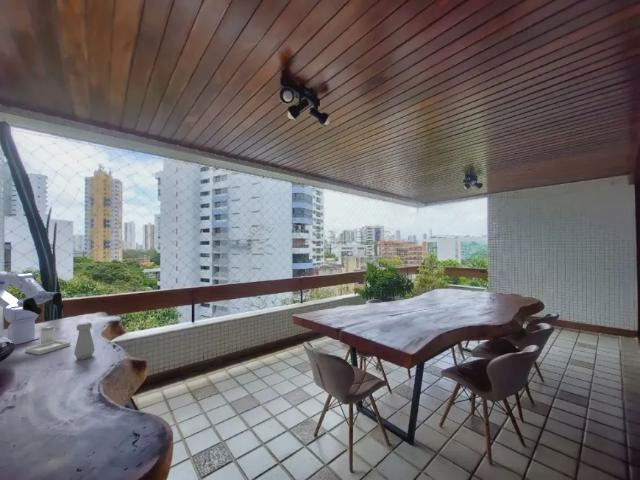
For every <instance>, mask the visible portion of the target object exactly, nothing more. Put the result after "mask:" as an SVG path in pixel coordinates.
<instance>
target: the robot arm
mask: <svg viewBox="0 0 640 480" xmlns="http://www.w3.org/2000/svg"><path fill="white" fill-rule="evenodd" d="M9 285H10V286H12V288H13V289H17V290H20V291H21V292H22V293H23V294H24V295H25V296H26V297H24V298H21V299H18V298H16V296H13V295H12V294H11V293H9V292H7V291H6V290H8V289H9ZM63 296H64V294H63V293H62V292H61V291H60V292H50V291H47V290H46V289H44V288H43V287H42V286H41V285H40V283H39V282H38V281H37V277H36V274H35V273H33V272H30V273H24V272H21V271H20V272H18V271H17V270H11V271H10V272H8V271H3V270H2V271H0V307H1V308H3V313H2V317H4V319H5V321H6V322H7V323H9V324H8V327H7V340H8V339H10V340H11V341H12V342H13V343H14V344H13V345H19V344H24V343H27V342H31V341H35V340H36V341H37V340H40V337H38V336H36V328H35V327H36V326H35V325H36V323H35V322H36V320H37V318H39V316H40V315H41V314H42V309H41V307H40V306H39V305H41V304H44V303H46V302H48V301H51V300H52V302H51V304H52V305H54V306H56V307H57V308H58V309H59V310H63V308H64V307H65V305H64V303H63V300H62V299H63Z"/></svg>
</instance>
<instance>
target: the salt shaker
mask: <svg viewBox="0 0 640 480" xmlns="http://www.w3.org/2000/svg"><path fill="white" fill-rule="evenodd" d="M92 327H93V325H92V323H91V322H89V321H87V322H86V321H84V322H80V323H78V324H77V325H76V330H77V331H78V336H77V339H76V340H77V341H76V345H75V349H74V353H73V354H74V356H75V357H76V359H77V360H79V361H82V360H86V359H87V360H88V359H90V358H92V357H93V355H94V353H95V345H94V341H93V337H92V333H91V329H92Z"/></svg>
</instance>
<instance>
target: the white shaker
mask: <svg viewBox="0 0 640 480" xmlns="http://www.w3.org/2000/svg"><path fill="white" fill-rule="evenodd" d="M53 340H56V327H55V325H47V326H42V327H41V330H40V344H42V343H46V342H50V341H53Z"/></svg>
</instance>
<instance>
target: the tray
mask: <svg viewBox="0 0 640 480" xmlns="http://www.w3.org/2000/svg"><path fill="white" fill-rule="evenodd" d="M67 346H68V347H71V342H70V341H66V340H60V339H55V340H53V341H50V342H46V343H42V344H41V343H39V344H36V345H32V346H29V347H25V348H24V349H25V352H26V353H29V354H33V355H38V356H40V355H43V354H47V353H51V352H54V351H57V350H61V349H64V348H68V347H67Z"/></svg>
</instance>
